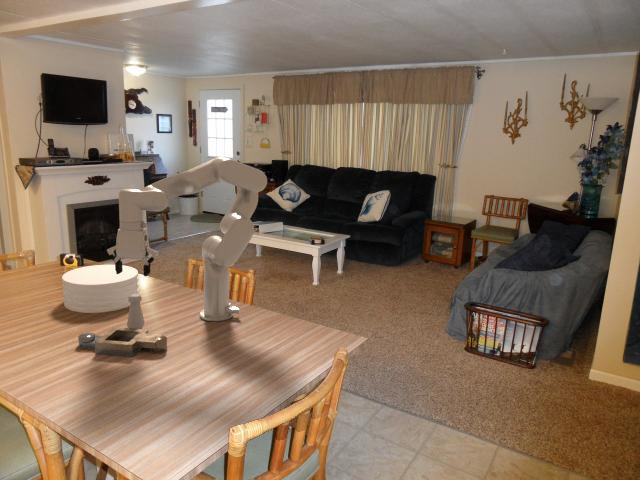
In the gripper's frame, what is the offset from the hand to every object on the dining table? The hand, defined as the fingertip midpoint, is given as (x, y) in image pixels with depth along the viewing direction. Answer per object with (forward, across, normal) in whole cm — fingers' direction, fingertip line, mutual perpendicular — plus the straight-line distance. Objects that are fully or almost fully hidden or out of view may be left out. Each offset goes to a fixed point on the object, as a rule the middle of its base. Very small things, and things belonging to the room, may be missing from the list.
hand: (133, 274), depth 163 cm
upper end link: (+21, -7, +14) cm, 26 cm away
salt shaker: (+21, 0, 0) cm, 21 cm away
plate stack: (+21, +25, -26) cm, 42 cm away
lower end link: (+21, +2, +14) cm, 25 cm away
